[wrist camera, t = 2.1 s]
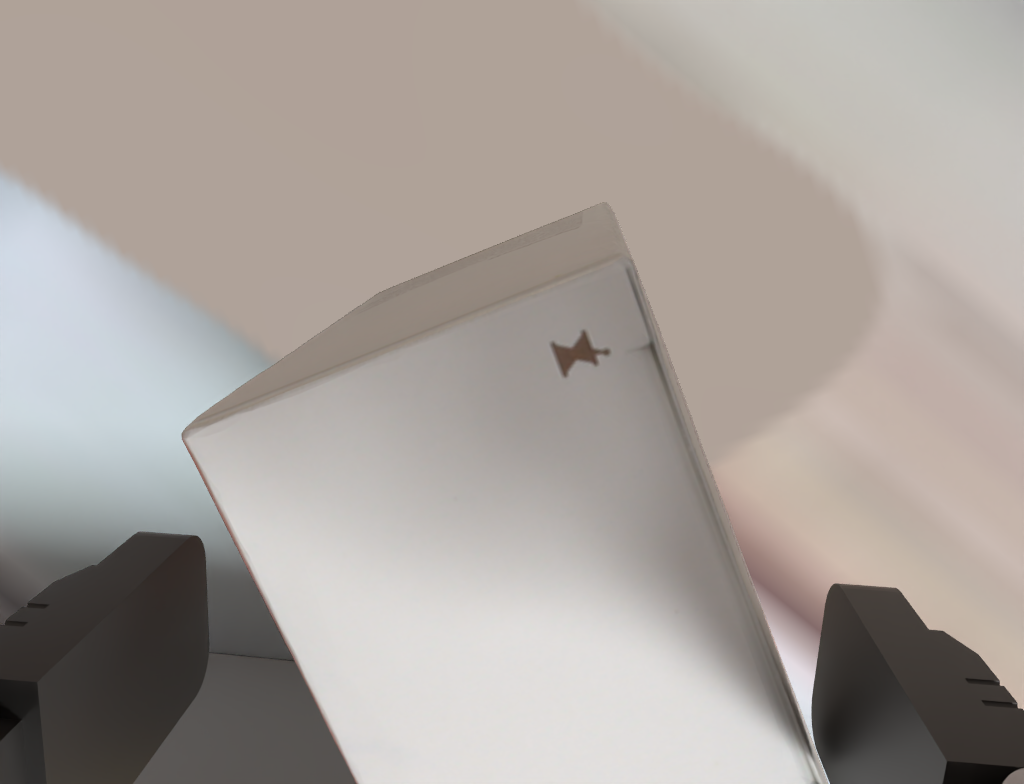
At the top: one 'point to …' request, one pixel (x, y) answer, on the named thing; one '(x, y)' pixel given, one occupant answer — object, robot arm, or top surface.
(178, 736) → the loading dock
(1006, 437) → the top surface
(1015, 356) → the top surface
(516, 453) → the small box
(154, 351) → the top surface
